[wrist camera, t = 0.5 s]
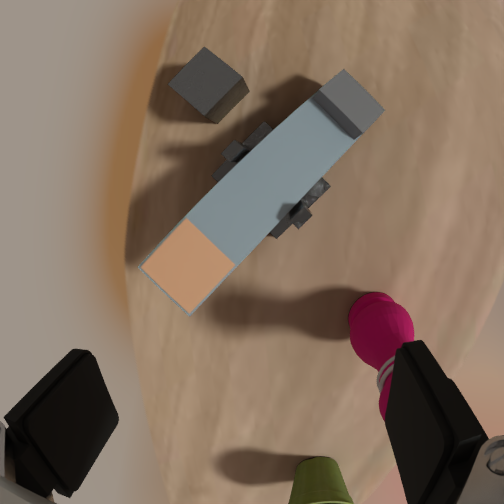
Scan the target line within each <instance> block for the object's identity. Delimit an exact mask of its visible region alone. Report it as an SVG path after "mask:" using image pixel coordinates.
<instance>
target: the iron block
mask: <svg viewBox="0 0 504 504" xmlns="http://www.w3.org/2000/svg"><path fill="white" fill-rule="evenodd" d="M168 85H169V86H170V87H171V88H173V89H174V90H175V91H176V92H177V93H178V94H180V95H181V96H182V97H183V98H184V99H185V100H187V101H188V102H189V103H190V104H191V105H192V106H193V107H195V108H196V109H197V110H198V111H199V112H200V113H201V114H202V115H204V116H205V117H207V118H208V119H210V120H212V121H214V122H215V123H217V124H218V123H219V122H220V121H221V120H222V119H223V118H224V117H225V116H226V115H227V114H228V113H229V112H230V111H231V110H232V109H233V108H234V107H235V106H236V105H237V104H238V103H239V102H240V101H241V100H242V99H243V98H244V97H245V96H246V95H247V94H248V93H249V92H250V91H249V89H248V87H247V85H246V83H245V81H244V79H243V77H242V76H241V75H239V74H238V73H237V72H236V71H235V70H233V69H232V68H231V67H230V66H228V65H227V64H226V63H225V62H223V61H222V60H221V59H220V58H218V57H217V56H216V55H215V54H213V53H212V52H211V51H209V50H208V49H207V48H205V47H203V48H202V49H201V50H200V51H199V52H198V53H197V54H196V55H195V56H194V57H193V58H192V59H191V60H190V61H189V62H188V63H187V64H186V65H185V66H184V68H183V69H182V70H181V71H180V72H179V73H178V74H177V75H176V76H175V77H174V78H173V79H172V80H171V81H170V82H169V84H168Z"/></svg>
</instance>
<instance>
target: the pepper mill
mask: <svg viewBox="0 0 504 504" xmlns="http://www.w3.org/2000/svg"><path fill="white" fill-rule="evenodd" d="M348 321H349V326H350V329H351V330H350V341H351V344H352V347H353V349H354V351H355V352H356V354H357V355H358V356H359V358H361V359H362V360H363V361H364V362H365V363H366V364H368V365H370V366H372V367H374V368H375V369H377V370H378V372H379V373H378V375H377V386H378V388H379V392H380V398H379V409H380V413H381V416H382V418H383V420H384V421H385V413H386V408H387V403H388V397H389V391H390V386H391V380H392V373H393V366H394V359H395V352H396V349H397V348H401V346H402V344H403V343H404V342H410V341H414V327H413V322H412V320H411V318H410V316H409V314H408V312H407V311H406V310H405V309H404V308H403V307H402V306H401V305H399V304H397V303H395V302H394V300H393V299H392V298H391V297H390V296H388V295H386V294H384V293H379V292H373V293H369V294H366V295H364V296H362V297H361V298H359V299H358V300H357V301H356V302H355V303H354V304H353V306H352V308H351V310H350V312H349V317H348Z"/></svg>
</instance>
